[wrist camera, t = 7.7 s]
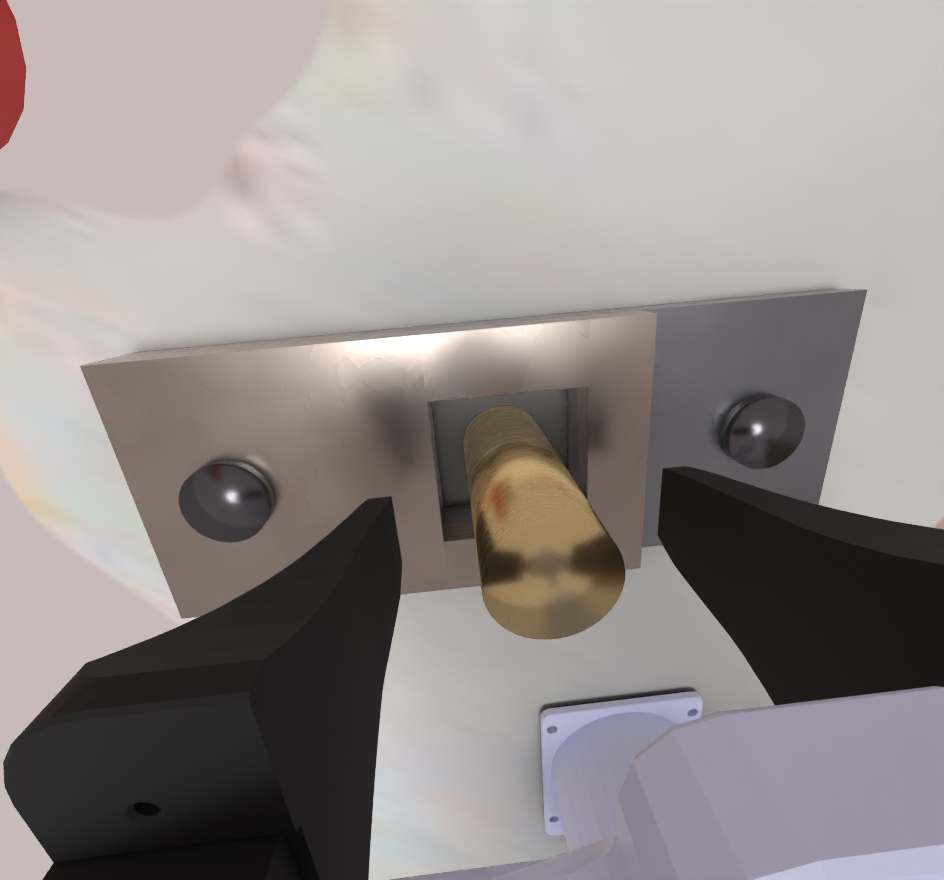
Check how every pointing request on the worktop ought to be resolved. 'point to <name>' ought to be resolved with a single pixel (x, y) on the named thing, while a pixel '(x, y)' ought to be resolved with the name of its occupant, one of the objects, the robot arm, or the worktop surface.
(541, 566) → the brass pin
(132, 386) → the door strike plate
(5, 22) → the beer can
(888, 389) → the worktop surface
